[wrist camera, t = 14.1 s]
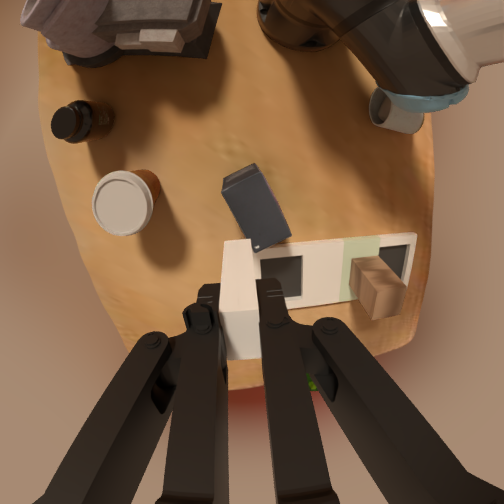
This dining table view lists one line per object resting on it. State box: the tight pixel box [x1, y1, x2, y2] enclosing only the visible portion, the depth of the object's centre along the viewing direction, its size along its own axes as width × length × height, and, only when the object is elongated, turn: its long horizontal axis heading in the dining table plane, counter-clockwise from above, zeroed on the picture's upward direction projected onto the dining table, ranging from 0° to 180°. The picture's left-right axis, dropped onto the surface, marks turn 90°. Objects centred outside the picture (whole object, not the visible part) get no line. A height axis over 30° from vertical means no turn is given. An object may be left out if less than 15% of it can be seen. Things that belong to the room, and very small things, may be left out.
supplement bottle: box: [51, 100, 114, 144], centre depth 34 cm, size 7×7×12 cm
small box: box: [221, 163, 292, 253], centre depth 43 cm, size 11×6×10 cm, turn 27°
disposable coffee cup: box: [92, 170, 160, 236], centre depth 40 cm, size 10×10×12 cm
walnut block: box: [349, 255, 407, 320], centre depth 48 cm, size 6×6×12 cm
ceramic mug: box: [369, 87, 424, 134], centre depth 38 cm, size 11×8×8 cm
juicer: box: [20, 0, 222, 68], centre depth 21 cm, size 30×16×24 cm, turn 79°
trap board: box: [252, 232, 417, 309], centre depth 54 cm, size 35×14×2 cm, turn 94°
